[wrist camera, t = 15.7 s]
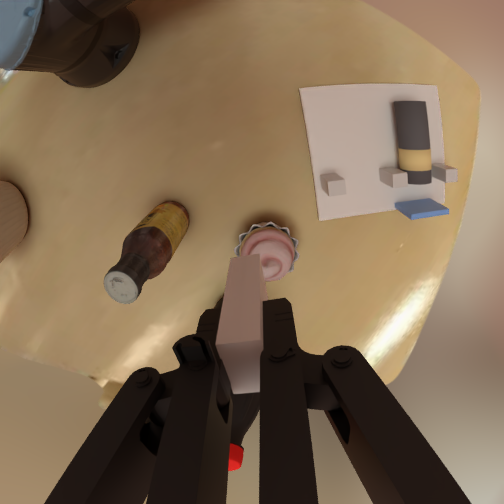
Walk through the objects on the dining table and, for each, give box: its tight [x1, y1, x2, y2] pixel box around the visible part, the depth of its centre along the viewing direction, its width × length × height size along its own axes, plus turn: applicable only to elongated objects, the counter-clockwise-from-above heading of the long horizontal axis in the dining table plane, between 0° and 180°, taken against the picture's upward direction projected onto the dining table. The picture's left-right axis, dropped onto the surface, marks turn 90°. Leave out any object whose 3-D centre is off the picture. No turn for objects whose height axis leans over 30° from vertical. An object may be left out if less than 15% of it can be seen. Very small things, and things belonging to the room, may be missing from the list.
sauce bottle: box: [104, 202, 189, 304], centre depth 36 cm, size 6×6×20 cm
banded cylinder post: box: [393, 101, 432, 185], centre depth 36 cm, size 12×5×5 cm, turn 10°
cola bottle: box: [214, 297, 260, 471], centre depth 38 cm, size 8×8×30 cm
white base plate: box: [299, 83, 457, 221], centre depth 37 cm, size 20×23×7 cm
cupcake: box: [234, 222, 299, 281], centre depth 42 cm, size 9×9×10 cm
